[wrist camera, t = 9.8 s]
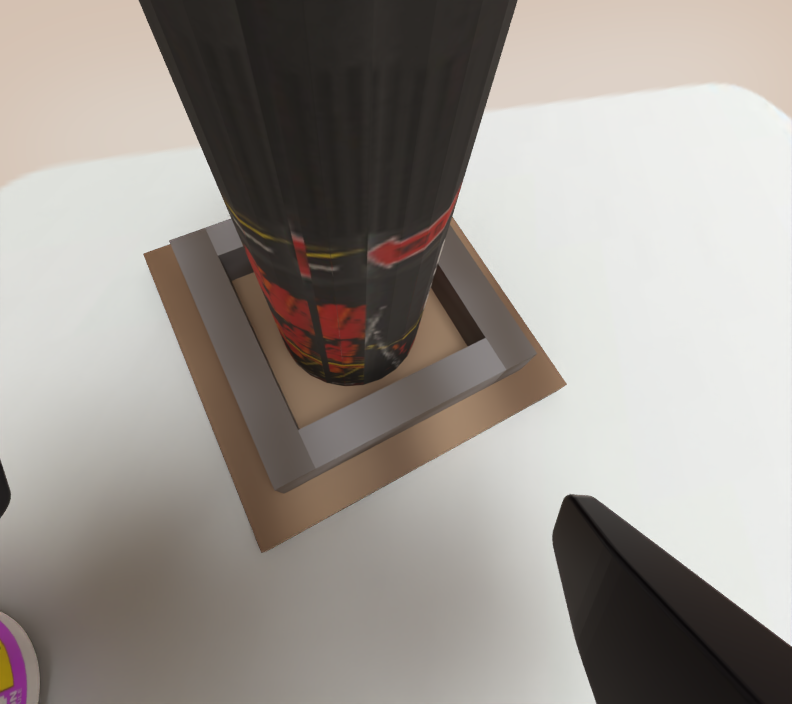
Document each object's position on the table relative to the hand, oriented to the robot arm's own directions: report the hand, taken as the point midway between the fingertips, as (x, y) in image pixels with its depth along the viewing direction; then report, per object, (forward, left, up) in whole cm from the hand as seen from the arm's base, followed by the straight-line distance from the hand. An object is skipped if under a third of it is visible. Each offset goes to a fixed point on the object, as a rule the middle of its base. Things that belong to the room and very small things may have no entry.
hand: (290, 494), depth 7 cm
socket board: (+4, +7, -11) cm, 14 cm away
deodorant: (+4, +7, -10) cm, 13 cm away
